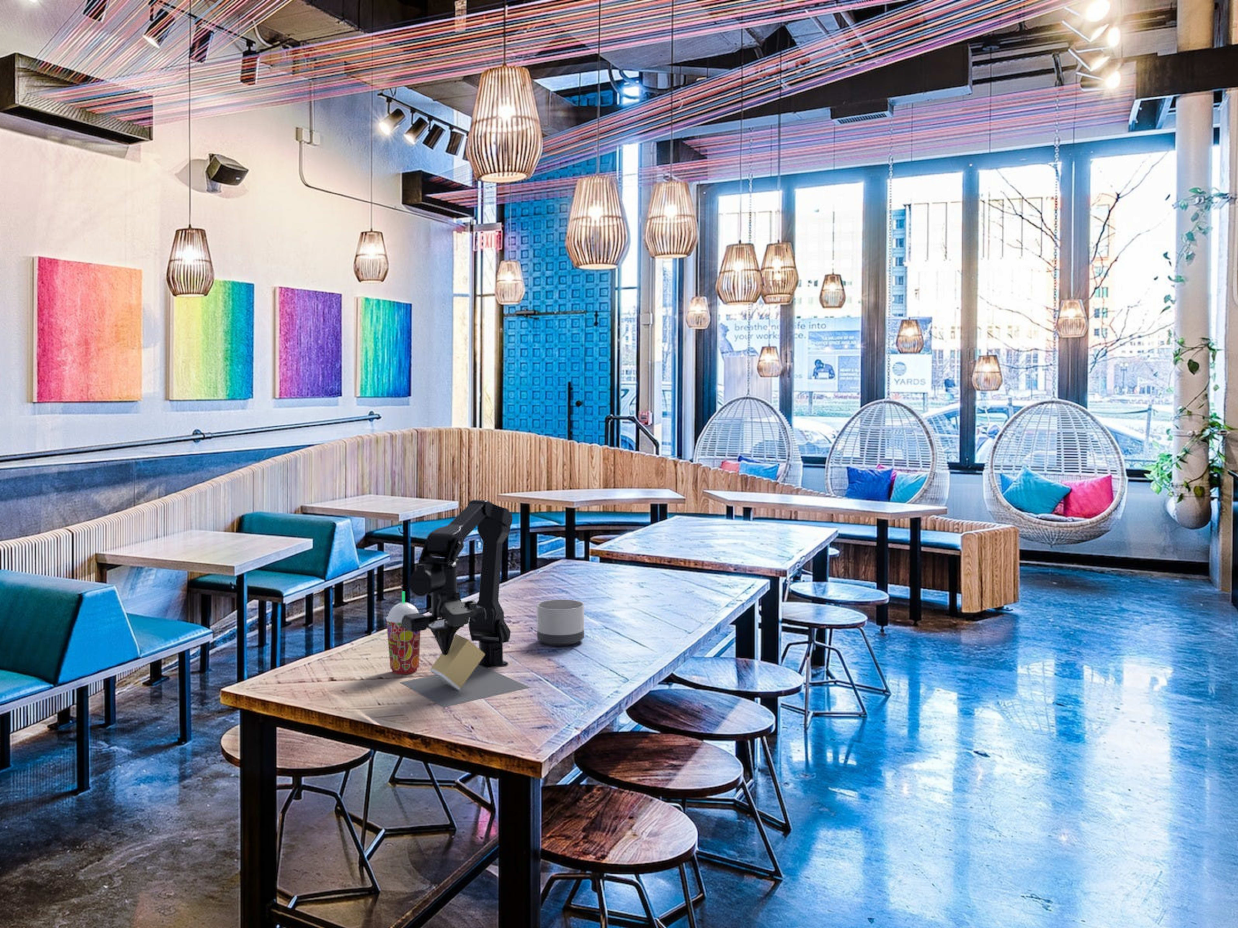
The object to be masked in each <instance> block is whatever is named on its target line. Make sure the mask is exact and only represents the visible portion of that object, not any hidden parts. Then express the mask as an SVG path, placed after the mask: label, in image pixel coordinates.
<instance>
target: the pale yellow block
mask: <svg viewBox="0 0 1238 928" xmlns="http://www.w3.org/2000/svg"><path fill="white" fill-rule="evenodd" d="M484 655H485V653H483V652H482V651H481V650H480V649H479V646H476V644H474V643H473V641H472V640H471V639H470V640H469V639H468V638H466V637H463V636H462V635H458V634H457V633H456V634H455V636H454V638H453V641H452V644H451V647H450V649H449V652H448V655H443V654H442V653H441V654H440V655H439V656H438V658H437V659H436V660H435V662H434V663H433V664H432V666H431V667H430V668H429V671H430V672H431V673H432V674H434V675H436V676H437V677H439V678H440V679H441V680H442V681H443V682H445V683H446V684H447V685H449V686H451V687H453V688H455V689H457V690H460V688H461V687H462V686H463V684H464V683H465V682H466V680H467V679H468V677H469V676H470V675H471V673H472V672H473V671H474V669H475V668H476V667H478V666H479V665H478V664H479V662H480V661H481V660H482V658H483V657H484Z"/></svg>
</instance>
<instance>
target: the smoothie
mask: <svg viewBox="0 0 1238 928" xmlns="http://www.w3.org/2000/svg"><path fill="white" fill-rule="evenodd" d="M414 613H420V612H419V609H417V607H416V606H415V605H414V604H412V603H411V602H407V601H406V591H401V602H399V603H397V604H395V605H393V606H392V607H391V608H390V610H389V612H388V614H387V616H386V617H385V619H386V631H387V633H386V634H387V642H388V657H389V658H388V659H389V669H390V670H391V672H392V673H393V674H396V675H408V674H409V675H410V674H413V673H416V672H417V670H418V668H419V667H420V653H421V652H420V650H421V632H422V631H416V632H411V631H409V630H407V629H405V628H403V627H402V618H403V617H404V615H407V614H414Z"/></svg>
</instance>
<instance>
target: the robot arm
mask: <svg viewBox="0 0 1238 928" xmlns="http://www.w3.org/2000/svg"><path fill="white" fill-rule="evenodd" d="M512 523H513V514H512V513H511V512H510V510H509V509H508V508H507V507H502V506H500V505H496V504H495V503H492V502H491V501H489V500H486V499H472V500H470V501H469V502H468V504H467V506H466V507H465V508H464V509H463V510H462V511H461V512H460V513H459V514H458V515H457V516H456V517H454V519H452V521H451V522H450V523H448V524H447V525H446V526H441V527H437V528H436V529H435V530H432V531H431V532H430V533H429V534H428V535H427V537H426V538H425V541H424V544H423V547H422V550H421V553H420V556H419V559H418V561H417V563H418V564H416V570H414V571H413V572H412V573H411V574H410V576H409V579H408V587H409V589H410V591H411V592H412V593H413V594H414V595H415V596H418V597H423V596H424V597H425V596H427V595H428V596H430V597H431V607H430V608H428V610H429V611H428V612H429V614H430V615H424V614H422V613H420V612H419V613H414V614H407V615H404V617H403V618H402V627H403V628H405V629H407V630H409V631H411V632H416V631H421V632H422V631H426V630H427V629H429V630H430V631H431V633H432V635H433V636H434V638H435V641H436V643H437V645H438V647H439V650H440V652H441V654H443V655H448V652H449V649H450V647H451V644H452V641H453V638H454V636H455V635H456V634H457V632H458V631H459V630H460V628H463V627H464V626H466V625H468V630H469V634H470V635H469V636H470V641H471V642H474V641H475V642H478V648H479V649H480V650H481V651H482V652H483V653H485V655H484V657H483V658H482V660H481V661H480V662H479V664H478V665H477V666H483V667H485V668H489V669H490V668H493V667H502V666H508V664H509V662H508V661H506V660H504V648H503V644H504V643H508V642H509V640H510V639H511V629H510V628H509V627H508V625H507V623H506V621H505V612H504V610H503V608H502V606H501V604H500V602H499V597H500V583H501V571H502V569H501V568H502V567H501V566H502V557H503V556H502V555H503V543H504V542H505V541H506V539H507V537H508V536H509V534H510V532H511V527H512V526H511V525H512ZM476 527H477V528H476ZM475 528H476V529H477V533H478V535H479V538H480V539H481V541H482V548H481V549H482V552H481V561H480V562H481V566H480V576H479V577H480V579H479V588H478V589H479V593H478V601H477V602H476V601H475V600H474V599H471V600H467V601H462V599H461V593H460V591H458V578H457V577H458V574H457V573H458V572H457V571H458V570H457V569H458V566H459V565H461V560H459V558H458V556H459V555H460V553H461V552H462V550H463V549H464V547H465V546H464V545H465V544H464V541H465V539H466V538H467V537H468V536H469V535H470V534H471V533H472V531H474V529H475Z"/></svg>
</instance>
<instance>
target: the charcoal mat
mask: <svg viewBox="0 0 1238 928" xmlns="http://www.w3.org/2000/svg"><path fill="white" fill-rule="evenodd" d="M399 683H400V684H402V686H403V685H404V686H405V687H407V688H409V689H410V690H412V691H414V692H415V693H417V694H419V695H421V696H423V697H424V698H427V699H428V700H430V701H432V702H434V703H435V704H437V705H439V706H441V707H442V708H447V707H450V706H456V705H458V704H459V705H461V704H465V703H470V702H473V701H476V700H482V699H486V698H490V697H494V696H499V695H504V694H508V693H512V692H516V691H521V690H525V689H531V687H530V686H529V685H525V684H524V683H522V682H519V681H517V680H515V679H514V678H513V679H512V678H510V677H509V676H506V675H504V674H501V673H500V672H497V671H495V670H493V669H491V668H490V667H489V668H485V667H483V666H480V665H477V666H476V668H475V669H474V671H473V672H472V673H471V675H470V676H469V677H468V679H467V680H466V682H465V683H464V684H463V686H462V687H461V688H460V690H457V689H455V688H453V687H451V686H449V685H447V684H446V683H445V682H443V681H442V680H441V679H440V678H439V677H437V676H436V675H435V674H434V675H430V676H429V675H428V676H424V677H419V678H415V679H409V680H405V681H400V682H399Z"/></svg>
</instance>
